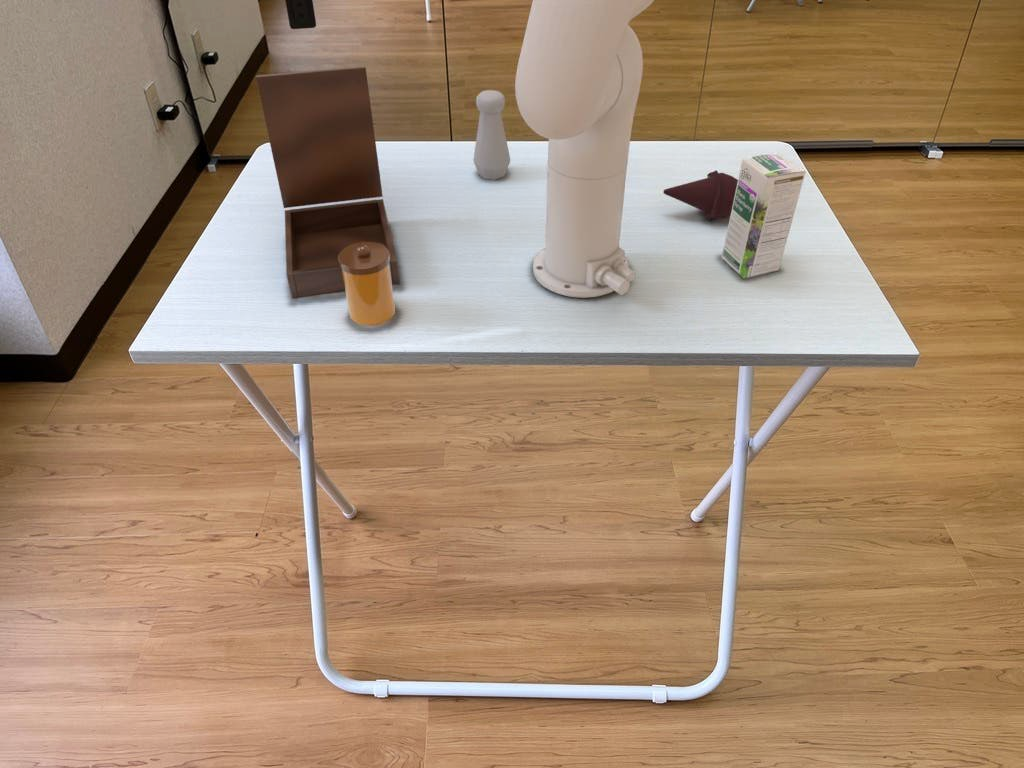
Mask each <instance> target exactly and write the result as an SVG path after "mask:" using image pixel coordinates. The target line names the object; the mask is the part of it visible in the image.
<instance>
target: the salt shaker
mask: <svg viewBox="0 0 1024 768" xmlns="http://www.w3.org/2000/svg"><path fill="white" fill-rule="evenodd" d="M475 105H476V109H477V110H478V111H479V118H478V125H477V131H476V139H475V145H474V146H475V147H474V153H473V164H474V166H475V168H476V170H477V172H478V174H479V176H480V177H481V178H482V179H484V180H493V181H496V180H498V179H501V178H504V177H505V175H506V174H507V170H508V168H509V166H510V164H511V156H510V151H509V146H508V141H507V136H506V133H505V127H504V122H503V117H502V112H501V111H503V110H504V109H505V105H506V99H505V96H504V94H503V93H502V92H501V91H500V90H494V89H487V90H483V91H481V92H480V93H478V95H477V96H476V99H475Z"/></svg>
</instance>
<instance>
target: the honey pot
mask: <svg viewBox="0 0 1024 768" xmlns="http://www.w3.org/2000/svg"><path fill="white" fill-rule="evenodd" d="M338 261H339V266H340V268H341V270H342V276H343V281H344V287H345V292H344V293H345V298H346V304H347V309H348V314H349V318H350V320H351V321H353V322H354V323H356V324H358V325H361V326H368V327H369V326H378V325H381V324H384V323H387V322H388V321H390V320H391V319H392V318H393V317H394V316H395V314H396V303H395V296H394V288H393V285H392V280H391V272H390V264H389V262H390V254H389V250H388V249H387V248H386V247H385V246H384V245H382V244H379V243H375V242H360V243H355V244H352V245H349V246H347V247H346V248H344V249H343V250H342V251H341V252H340V253H339V256H338Z"/></svg>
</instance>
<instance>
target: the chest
mask: <svg viewBox="0 0 1024 768" xmlns="http://www.w3.org/2000/svg"><path fill="white" fill-rule="evenodd" d="M284 232H285V233H284V234H285V265H286V267H285V268H286V269H285V270H286V278H287V283H288V286H289V291H290V296H291V299H299V298H307V297H308V298H309V297H315V296H322V295H330V294H338V293H346V292H345V287H344V281H343V276H342V270H341V268H340V266H339V261H338V256H339V253H340V252H341V251H342V250H343V249H344V248H346V247H347V246H349V245H352V244H355V243H360V242H375V243H379V244H382V245H384V246H385V247H386V248H387V249H388V250H389V254H390V262H389V264H390V272H391V280H392V286H397V285H400V283H401V282H400V275H399V265H398V259H397V255H396V251H395V247H394V246H395V245H394V242H393V237H392V233H391V228H390V223H389V219H388V215H387V210H386V206H385V202H384V199H383V198H380V199H379V198H378V199H370V200H362V201H351V202H345V203H334V204H327V205H318V206H310V207H300V208H292V209H285V210H284Z"/></svg>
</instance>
